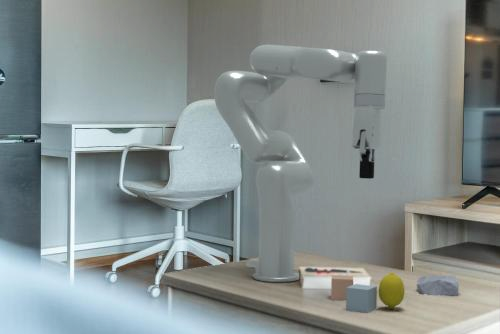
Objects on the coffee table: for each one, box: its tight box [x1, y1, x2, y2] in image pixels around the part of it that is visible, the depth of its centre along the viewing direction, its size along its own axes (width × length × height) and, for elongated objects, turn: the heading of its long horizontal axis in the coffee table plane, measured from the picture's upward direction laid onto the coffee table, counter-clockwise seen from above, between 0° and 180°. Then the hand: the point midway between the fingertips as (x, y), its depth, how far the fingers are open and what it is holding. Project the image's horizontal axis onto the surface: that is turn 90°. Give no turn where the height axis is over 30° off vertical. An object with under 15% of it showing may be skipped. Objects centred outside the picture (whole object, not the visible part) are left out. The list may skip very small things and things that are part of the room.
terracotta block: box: [330, 274, 354, 302], centre depth 173 cm, size 5×5×5 cm
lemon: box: [378, 272, 405, 310], centre depth 162 cm, size 6×6×8 cm
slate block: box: [345, 283, 378, 314], centre depth 161 cm, size 5×5×5 cm
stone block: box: [416, 274, 459, 297], centre depth 183 cm, size 12×5×10 cm
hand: (366, 178), depth 179 cm, fingers closed
